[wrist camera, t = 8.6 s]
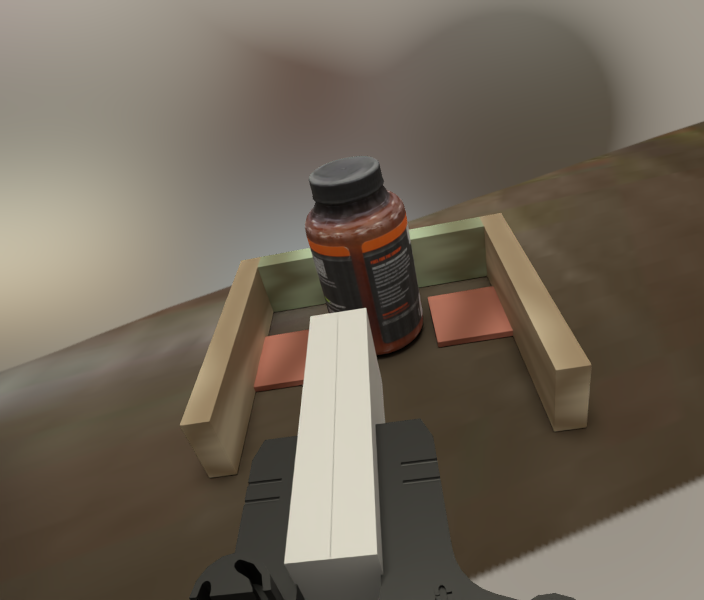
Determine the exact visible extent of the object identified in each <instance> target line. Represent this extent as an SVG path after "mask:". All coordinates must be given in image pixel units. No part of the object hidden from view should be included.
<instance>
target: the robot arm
mask: <svg viewBox="0 0 704 600" xmlns="http://www.w3.org/2000/svg"><path fill="white" fill-rule="evenodd" d="M248 483H249V486H248V487H247V492H246V497H245V505H244V508H243V513H242V518H241V523H240V529H239V534H238V539H237V544H236V550H235V553H233V554H230V555H226V556H223V557H221V558H220V559H218V560H217V561H215V562H214V563H213V564H211V565H210V566H208V567H207V568H206V570H205V571H204V572H203V573H202V575H201V576H200V577H199V578H198V580H197V581H196V583H195V585H194V588H193V590H192V593H191V595H190V597H189V599H190V600H517V599H513V598H510V597H506V596H502V595H498V594H495V593H492V592H490V591H487V590H484V589H482V588H481V587H479V586H478V585H476V584H475V583H473V582H472V581H471V580H470V579H469V578H468V577H467V576H466V575H465V574H464V573H463V572H462V570H461V569H460V567H459V565H458V563H457V562H456V560H455V557H454V553H453V550H452V545H451V539H450V533H449V527H448V522H447V516H446V510H445V504H444V498H443V492H442V486H441V481H440V475H439V469H438V463H437V457H436V451H435V445H434V439H433V436H432V434H431V433H430V431H429V430H428V429H427V427H426V426H425V424H424V423H423V422H422V420H421V419H413V420H405V421H398V422H390V423H385V417H384V403H383V390H382V380H381V375H380V371H379V366H378V361H377V356H376V352H375V347H374V342H373V338H372V333H371V328H370V324H369V319H368V314H367V310H366V308H362V309H355V310H349V311H342V312H336V313H329V314H323V315H316V316H311V318H310V327H309V336H308V346H307V355H306V364H305V374H304V383H303V392H302V401H301V411H300V420H299V429H298V436H292V437H285V438H277V439H269V440H265V441H264V442H263V444H262V446H261V447H260V449H259V451H258V452H257V454H256V455H255V457H254V459H253V460H252V466H251V471H250V476H249V481H248ZM532 600H575V599H574V598H571V597H567V596H564V595H560V594H556V593H552V594H545V595H538V596H536V597H535V598H533V599H532Z"/></svg>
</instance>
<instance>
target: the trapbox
mask: <svg viewBox="0 0 704 600" xmlns="http://www.w3.org/2000/svg"><path fill="white" fill-rule="evenodd" d="M409 235H410V240H411V246H412V252H413V259H414V264H415V270H416V276H417V281H418V288H419V287H425V286H431V285H437V284H443V283H449V282H454V281H460V280H466V279H472V278H478V277H484V276H487V277H488V279H489V281H490V284H491V287H485V288H479V289H473V290H467V291H461V292H455V293H449V294H443V295H437V296H432V297H428V302H429V307H430V311H431V315H432V320H433V324H434V329H435V333H436V338H437V342H438V347H444V346H450V345H457V344H463V343H469V342H476V341H482V340H489V339H495V338H501V337H508V336H513V337H514V339H515V342H516V344H517V346H518V348H519V351H520V353H521V355H522V358H523V360H524V362H525V365H526V367H527V369H528V372H529V374H530V376H531V379H532V381H533V383H534V386H535V388H536V390H537V393H538V395H539V397H540V400H541V402H542V404H543V406H544V409H545V411H546V413H547V416H548V418H549V420H550V423H551V425H552V427H553V430H554V432H555V431H563V430H570V429H578V428H585V427H587V415H588V402H589V390H590V377H591V364H590V362H589V360H588V358H587V357H586V355H585V353H584V352H583V350H582V348H581V347H580V345H579V343H578V342H577V340H576V338H575V337H574V335H573V333H572V332H571V330H570V328H569V327H568V325H567V323H566V321H565V320H564V318H563V316H562V315H561V313H560V311H559V310H558V308H557V306H556V305H555V303H554V301H553V300H552V298H551V296H550V295H549V293H548V291H547V290H546V288H545V286H544V284H543V283H542V281H541V279H540V278H539V276H538V274H537V273H536V271H535V269H534V268H533V266H532V264H531V263H530V261H529V259H528V258H527V256H526V254H525V253H524V251H523V249H522V247H521V246H520V244H519V242H518V241H517V239H516V237H515V236H514V234H513V232H512V231H511V229H510V227H509V226H508V224H507V222H506V221H505V219H504V217H503V216H502V214H501V213H498V214H493V215H487V216H482V217H477V218H471V219H466V220H460V221H455V222H449V223H444V224H438V225H433V226H428V227H422V228H417V229H411V230H409ZM325 303H326V301H325V297H324V294H323V291H322V287H321V284H320V280H319V276H318V274H317V270H316V267H315V263H314V260H313V256H312V253H311V250H310V248H308V249H302V250H298V251H291V252H286V253H281V254H275V255H270V256H264V257H259V258H253V259H248V260H242V261H241V263H240V265H239V268H238V271H237V273H236V276H235V279H234V281H233V284H232V287H231V289H230V292H229V295H228V297H227V300H226V303H225V306H224V308H223V311H222V314H221V316H220V319H219V322H218V324H217V327H216V330H215V332H214V335H213V338H212V340H211V343H210V346H209V348H208V351H207V354H206V356H205V359H204V362H203V365H202V367H201V370H200V373H199V375H198V378H197V381H196V383H195V386H194V389H193V391H192V394H191V397H190V399H189V402H188V405H187V407H186V410H185V413H184V415H183V418H182V421H181V423H180V427H181V429H182V431H183V432H184V434H185V436H186V438H187V439H188V441H189V443H190V445H191V446H192V448H193V450H194V452H195V453H196V455H197V457H198V459H199V460H200V462H201V464H202V466H203V467H204V469H205V471H206V473H207V474H208V476H209V478H212V477H219V476H227V475H234V474H237V472H238V467H239V463H240V459H241V454H242V450H243V445H244V441H245V436H246V432H247V428H248V423H249V419H250V414H251V410H252V405H253V401H254V397H255V392H258V391H265V390H271V389H278V388H285V387H291V386H298V385H303V383H304V374H305V364H306V355H307V346H308V336H309V330H303V331H297V332H291V333H285V334H279V335H273V336H268V334H269V330H270V326H271V321H272V317H273V312H278V311H284V310H290V309H296V308H302V307H308V306H313V305H319V304H325Z"/></svg>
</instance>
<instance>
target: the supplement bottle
mask: <svg viewBox="0 0 704 600" xmlns="http://www.w3.org/2000/svg"><path fill="white" fill-rule="evenodd" d="M309 182H310V186H311V190H312V194H313V199H314V201H315V202H316V203H315V205H314V208H313V209H312V210H311V211H310V212H309V214H308V216H307V219H306V222H305V229H306V235H307V238H308V242H309V245H310V250H311V253H312V256H313V260H314V263H315V267H316V270H317V274H318V276H319V280H320V284H321V287H322V291H323V294H324V297H325V301H326V304H327V308H328V311H329V313H336V312H342V311H349V310H355V309H362V308H366V310H367V314H368V319H369V324H370V328H371V333H372V338H373V342H374V347H375V352H376V355H381V354H387V353H391V352H394V351H397V350H399V349H401V348H403V347H404V346H406V345H407V344H409V343H410V342H411V341H413V340H414V339H415V338H416V336H417V335H418V334H419V332H420V331H421V328H422V324H423V314H422V306H421V300H420V294H419V288H418V281H417V276H416V270H415V264H414V259H413V252H412V246H411V240H410V235H409V228H408V223H407V217H406V211H405V208H404V205H403V202H402V200H401V199H400V198H399V197H398V196H397V195H396V194H394V193H392V192H390V191H389V190H386V188H385V187H384V186H383V182H384V180H383V178H382V174H381V170H380V165H379V162H378V160H376V159H374V158H372V157H367V156H358V157H357V156H356V157H348V158H344V159H339V160H336V161H332V162H330V163H327V164H325V165H323V166H321V167H319V168H317V169H316V170H315V171H314V172H312V173H311V175H310V177H309Z"/></svg>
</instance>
